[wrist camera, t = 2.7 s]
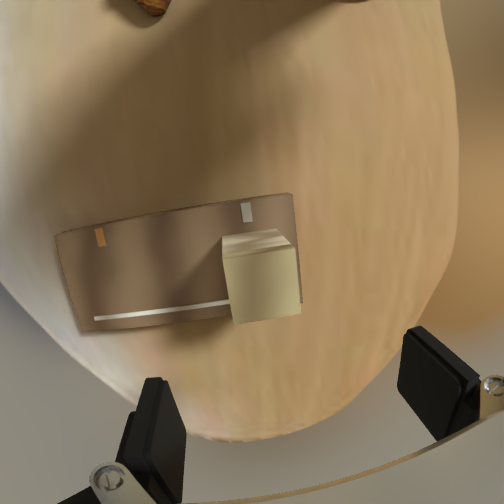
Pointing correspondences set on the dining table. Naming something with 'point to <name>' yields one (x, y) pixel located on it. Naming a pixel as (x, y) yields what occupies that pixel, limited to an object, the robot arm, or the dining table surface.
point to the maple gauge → (260, 276)
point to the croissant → (155, 6)
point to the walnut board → (163, 262)
